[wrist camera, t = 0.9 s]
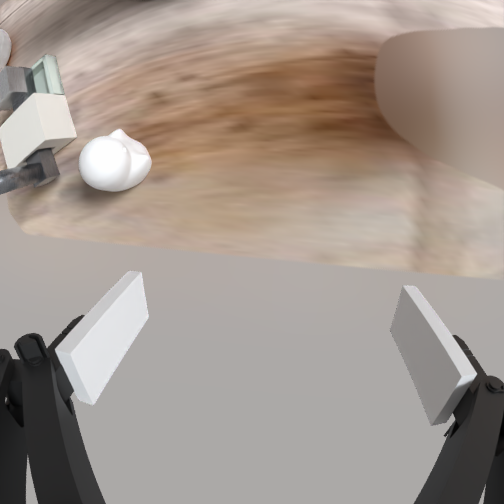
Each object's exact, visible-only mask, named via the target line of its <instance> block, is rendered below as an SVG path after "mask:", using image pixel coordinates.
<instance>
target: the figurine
mask: <svg viewBox="0 0 504 504" xmlns="http://www.w3.org/2000/svg"><path fill="white" fill-rule="evenodd" d="M150 168H151V158H150V156H149V153H148V151H147V149H146V148H145V147H144V146H143V145H142V144H141V143H140V142H138V141H136V140H134V139H131V138H130V137H128V136H127V135H126V134H125V133H124V131H123V130H121V129H117V130H115V131H114V132H112V133H111V134H109V135H108V136H101V137H97V138H95V139H93V140H91V141H90V142H88V143H87V144H86V145H85V147H84V148H83V150H82V152H81V154H80V157H79V171H80V174H81V176H82V178H83V179H84V181H85V182H86V183H87V184H89V185H90V186H92V187H94V188H96V189H99V190H107V191H122V190H126V189H129V188H131V187H134V186H135V185H137V184H139V183H140V182H141V181H142V180H143V179H144V178H145V177H146V176H147V174H148V172H149V170H150Z"/></svg>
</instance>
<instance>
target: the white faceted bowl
mask: <svg viewBox="0 0 504 504" xmlns="http://www.w3.org/2000/svg"><path fill="white" fill-rule="evenodd" d="M10 53H11V40H10V38H9V35H8V33H7V32H5V31H4V30H3V29H0V72H1V71H2V70H3V68H4V67H5V66H6V64H7V62H8V60H9V58H10Z"/></svg>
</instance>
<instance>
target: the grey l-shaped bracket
mask: <svg viewBox="0 0 504 504" xmlns="http://www.w3.org/2000/svg"><path fill="white" fill-rule="evenodd" d="M21 68H23V69H24V75H25V81H26V87H27V93H26V94H25V95H24V96H23V97H22V98H21V99H20V100H19V101H18V102H17V103H16V104H15V105H14V106H13V111H14V112H15V111H16V110H17V109H18V107H19V106H20V105H21V104H22V103H23V102H25V101H26V100H27V99H28V98H29V97H30V96H31V95H32V94H33V93H37V92H36V87H35V82H34V77H33V72H32V68H26V67H21ZM26 162H27V165H23V166H18V167H14V168H10V169H6V170H2V171H0V194H3V193H6V192H9V191H12V190H15V189H19V188H22V187H25V186H28V185H32V184H34V187H38V186H41V185H45V184H48V183H49V182H51V181H52V180H53V179H55V178H56V177H57V176H59V175H60V173H59V171H58V168H57V165H56V162H55V159H54V155H53V152H52V149H51V147H50V148H43V149H37V150H36V151H35V152H34V153H33V154H32V155H30V156H29V157H28V158H27V159H26Z"/></svg>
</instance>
